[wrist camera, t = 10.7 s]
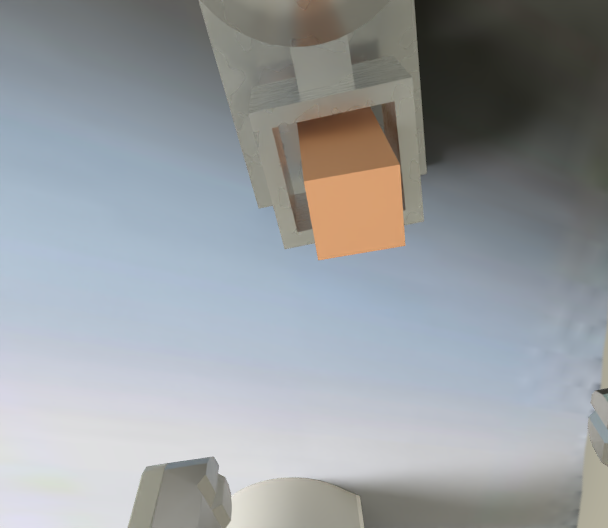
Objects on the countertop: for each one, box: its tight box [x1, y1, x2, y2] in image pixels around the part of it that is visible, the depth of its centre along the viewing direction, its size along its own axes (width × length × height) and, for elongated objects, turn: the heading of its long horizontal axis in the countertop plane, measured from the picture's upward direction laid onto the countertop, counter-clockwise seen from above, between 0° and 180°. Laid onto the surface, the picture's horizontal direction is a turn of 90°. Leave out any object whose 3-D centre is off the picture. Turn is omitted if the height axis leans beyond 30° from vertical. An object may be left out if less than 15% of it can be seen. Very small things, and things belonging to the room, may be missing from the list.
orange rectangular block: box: [297, 107, 405, 260], centre depth 23 cm, size 4×4×10 cm
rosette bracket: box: [199, 0, 427, 249], centre depth 19 cm, size 18×10×15 cm, turn 12°
